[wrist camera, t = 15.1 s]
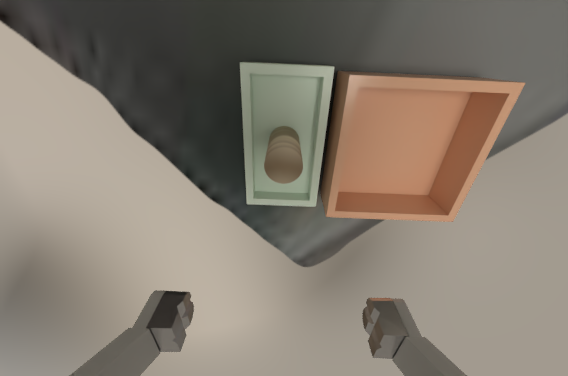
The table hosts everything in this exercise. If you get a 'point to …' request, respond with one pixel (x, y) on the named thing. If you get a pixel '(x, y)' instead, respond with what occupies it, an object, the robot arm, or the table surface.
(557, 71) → the table surface
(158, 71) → the table surface
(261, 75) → the green tray
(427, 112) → the orange hollow square box
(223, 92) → the table surface
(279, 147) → the birch cylinder
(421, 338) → the robot arm
